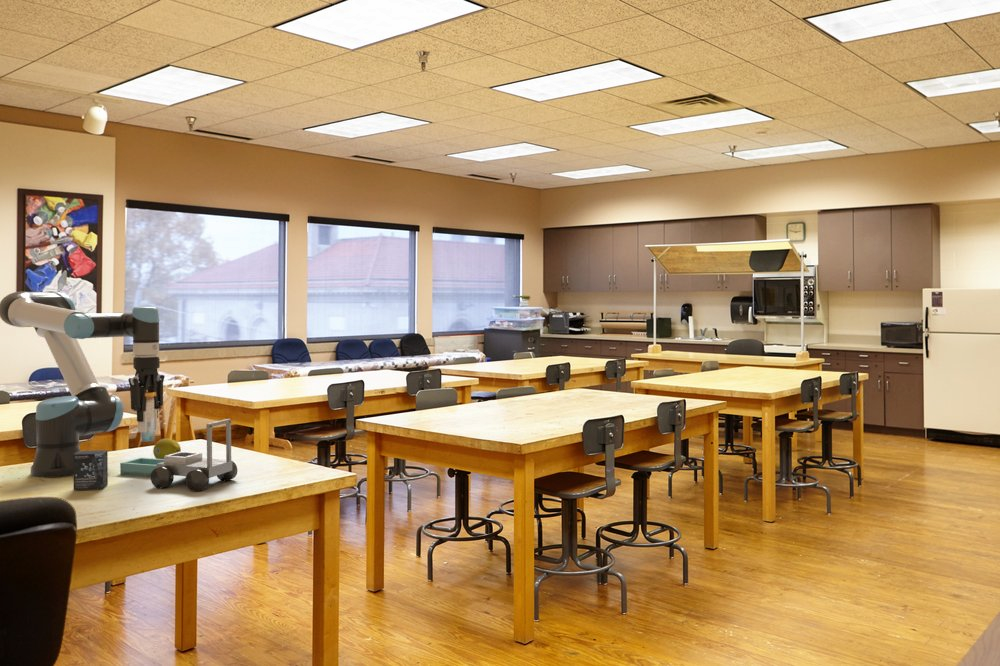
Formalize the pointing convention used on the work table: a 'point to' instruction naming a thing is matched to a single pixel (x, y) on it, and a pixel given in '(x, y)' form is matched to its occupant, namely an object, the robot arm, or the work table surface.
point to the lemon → (165, 448)
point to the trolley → (196, 464)
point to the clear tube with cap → (149, 418)
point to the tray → (139, 466)
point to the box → (90, 470)
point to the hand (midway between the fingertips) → (147, 430)
